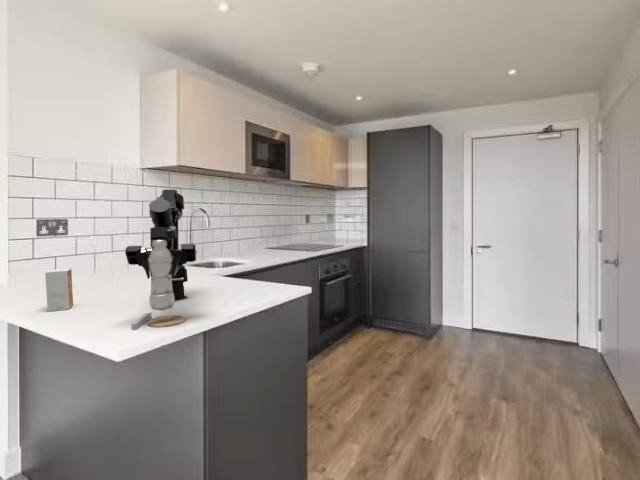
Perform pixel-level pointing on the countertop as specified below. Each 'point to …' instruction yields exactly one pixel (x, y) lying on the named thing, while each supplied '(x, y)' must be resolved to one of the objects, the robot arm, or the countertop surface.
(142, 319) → the sill
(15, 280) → the countertop surface
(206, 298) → the countertop surface
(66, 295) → the small box
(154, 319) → the coaster
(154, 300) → the plastic bottle
